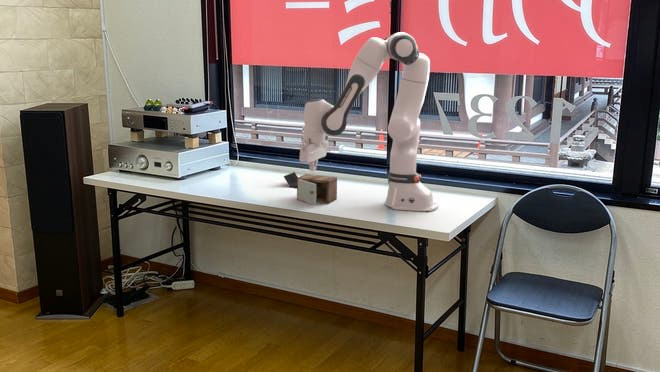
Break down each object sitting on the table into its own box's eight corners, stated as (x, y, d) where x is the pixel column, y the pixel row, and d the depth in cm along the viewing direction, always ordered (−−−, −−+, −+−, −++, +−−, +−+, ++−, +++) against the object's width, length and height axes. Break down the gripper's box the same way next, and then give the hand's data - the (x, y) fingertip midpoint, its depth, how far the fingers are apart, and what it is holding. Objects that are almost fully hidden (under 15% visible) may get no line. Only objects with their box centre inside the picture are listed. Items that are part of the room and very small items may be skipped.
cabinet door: (316, 204, 267) (316, 184, 265) (312, 205, 266) (312, 184, 264) (299, 198, 276) (299, 179, 274) (295, 199, 275) (296, 179, 273)
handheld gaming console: (305, 185, 298) (293, 168, 299) (293, 194, 300) (281, 176, 301) (312, 184, 310) (301, 167, 311) (300, 192, 311) (289, 175, 312)
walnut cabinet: (336, 199, 280) (337, 177, 277) (328, 203, 271) (329, 181, 269) (305, 195, 285) (305, 174, 283) (297, 200, 277) (297, 177, 275)
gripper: (310, 141, 255) (309, 175, 258) (330, 135, 273) (329, 167, 276) (296, 140, 257) (295, 173, 260) (316, 134, 276) (315, 165, 279)
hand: (312, 170), depth 269 cm, fingers closed
